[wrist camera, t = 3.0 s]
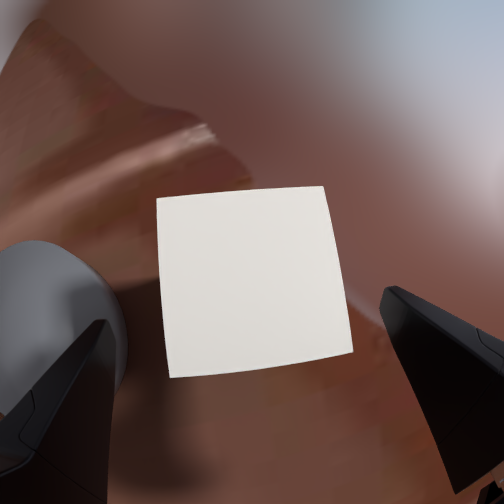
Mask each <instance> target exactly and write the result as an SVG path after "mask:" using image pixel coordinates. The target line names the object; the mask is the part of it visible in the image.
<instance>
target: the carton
mask: <svg viewBox="0 0 504 504" xmlns="http://www.w3.org/2000/svg"><path fill="white" fill-rule="evenodd" d="M157 230H158V255H159V273H160V288H161V301H162V313H163V323H164V333H165V343H166V351H167V360H168V368H169V375H170V378H175V377H189V376H201V375H212V374H222V373H231V372H239V371H247V370H255V369H262V368H269V367H276V366H282V365H288V364H294V363H300V362H306V361H311V360H317V359H322V358H327V357H332V356H337V355H341V354H346V353H351V352H353V347H352V339H351V332H350V325H349V318H348V312H347V305H346V299H345V293H344V287H343V281H342V275H341V270H340V264H339V259H338V254H337V249H336V244H335V238H334V234H333V229H332V224H331V219H330V215H329V210H328V206H327V201H326V197H325V192H324V188H323V186H319V187H294V188H277V189H259V190H245V191H231V192H219V193H207V194H197V195H186V196H176V197H167V198H158V199H157Z"/></svg>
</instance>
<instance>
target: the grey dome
mask: <svg viewBox="0 0 504 504" xmlns="http://www.w3.org/2000/svg"><path fill="white" fill-rule="evenodd" d="M96 319H107V320H108V321H109V323H110V325H111V328H112V330H113V333H114V335H115V338H116V370H115V392H114V395H115V394H116V392H117V391H118V389H119V386H120V384H121V382H122V379H123V376H124V373H125V369H126V364H127V357H128V337H127V329H126V323H125V319H124V316H123V312H122V309H121V307H120V304H119V302H118V300H117V298H116V296H115V294H114V292H113V290H112V289H111V287H110V286H109V285H108V283H107V282H106V280H105V279H104V278H103V277H102V276H101V275H100V274H99V273H98V272H97V271H96V270H95V269H93V268H92V267H91V266H90V265H88V264H87V263H85V262H83V261H82V260H80V259H79V258H77V257H75V256H74V255H72V254H71V253H69V252H68V251H66V250H65V249H63V248H61V247H59V246H57V245H55V244H52V243H49V242H45V241H35V240H33V241H24V242H20V243H17V244H14V245H12V246H10V247H8V248H6V249H5V250H3V251H1V252H0V412H1V413H2V414H3V415H4V416H6V415H7V414H8V413H9V412H10V411H11V410H12V408H13V407H14V406H15V405H16V404H17V403H18V402H19V401H20V400H21V399H22V398H23V397H24V395H25V394H26V393H27V392H28V391H29V390H30V389H31V388H32V386H33V385H34V384H35V383H36V382H37V381H38V380H39V379H40V377H41V376H42V375H43V374H44V373H45V372H46V371H47V370H48V369H49V367H50V366H51V365H52V364H53V363H54V362H55V361H56V360H57V359H58V358H59V357H60V356H61V354H62V353H63V352H64V351H65V350H66V349H67V348H68V347H69V346H70V345H71V344H72V343H73V342H74V341H75V340H76V339H77V337H78V336H79V335H80V334H81V333H82V332H83V331H84V330H85V329H86V328H87V327H88V326H89V325H90V324H91V323H92V322H93V321H94V320H96ZM31 390H32V389H31Z"/></svg>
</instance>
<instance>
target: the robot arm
mask: <svg viewBox="0 0 504 504" xmlns="http://www.w3.org/2000/svg"><path fill="white" fill-rule="evenodd" d="M379 309H380V314H381V316H382V319H383V321H384V324H385V327H386V329H387V332H388V335H389V338H390V340H391V343H392V345H393V348H394V350H395V352H396V354H397V357H398V359H399V361H400V363H401V365H402V367H403V369H404V371H405V373H406V375H407V378H408V380H409V382H410V384H411V386H412V388H413V391H414V393H415V395H416V397H417V400H418V402H419V404H420V406H421V409H422V411H423V413H424V416H425V418H426V420H427V423H428V425H429V428H430V430H431V432H432V435H433V437H434V440H435V442H436V445H437V448H438V450H439V453H440V455H441V458H442V461H443V463H444V466H445V468H446V471H447V474H448V477H449V479H450V482H451V485H452V488H453V491H454V493H455V495H456V494H458V493H459V492H461V491H463V490H464V489H466V488H467V487H469V486H471V485H472V484H474V483H475V482H477V481H478V480H480V479H481V478H482V477H484V476H485V475H487V474H488V473H491V475H492V477H493V478H494V481H492V482H491V483H490V484H488V485H487V486H485V487H484V488H483V489H481V491H480V494H479V498H478V501H477V504H504V341H501V340H500V339H497V338H495V337H493V336H492V335H490V334H488V333H486V332H484V331H482V330H480V329H478V328H476V327H475V326H473V325H471V324H469V323H467V322H465V321H464V320H462V319H460V318H458V317H456V316H454V315H452V314H450V313H448V312H447V311H445V310H443V309H441V308H439V307H437V306H435V305H433V304H431V303H429V302H427V301H425V300H424V299H422V298H419V297H418V296H415V295H414V294H412V293H410V292H408V291H406V290H404V289H402V288H400V287H398V286H389V287H386V288H385V289H384V292H383V295H382V299H381V303H380V308H379ZM115 370H116V338H115V335H114V333H113V330H112V328H111V325H110V323H109V321H108V320H107V319H96V320H94V321H93V322H92V323H91V324H90V325H89V326H88V327H87V328H86V329H85V330H84V331H83V332H82V333H81V334H80V335H79V336H78V337H77V339H76V340H75V341H74V342H73V343H72V344H71V345H70V346H69V347H68V348H67V349H66V350H65V351H64V352H63V353H62V354H61V356H60V357H59V358H58V359H57V360H56V361H55V362H54V363H53V364H52V365H51V366H50V367H49V369H48V370H47V371H46V372H45V373H44V374H43V375H42V376H41V377H40V379H39V380H38V381H37V382H36V383H35V384H34V385H33V386H32V388H31V389H32V390H31V389H30V390H29V391H28V392H27V393H26V394H25V395H24V397H23V398H22V399H21V400H20V401H19V402H18V403H17V404H16V405H15V406H14V407H13V408H12V410H11V411H10V412H9V413H8V414H7V415H6V416H5V417H4V418H3V419H2V420H1V421H0V504H107V483H108V459H109V443H110V431H111V420H112V410H113V401H114V392H115Z"/></svg>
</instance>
